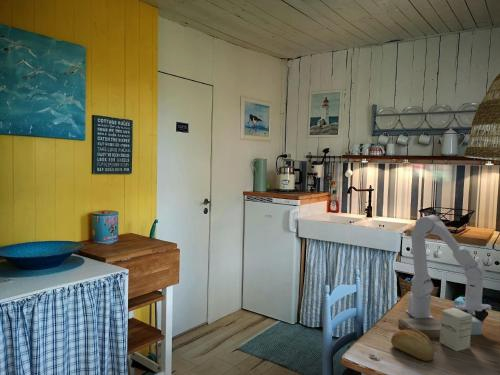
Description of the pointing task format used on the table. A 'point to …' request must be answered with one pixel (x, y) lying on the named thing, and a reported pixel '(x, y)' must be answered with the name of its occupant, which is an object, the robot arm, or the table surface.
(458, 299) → the light blue knobbed box
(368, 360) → the table surface
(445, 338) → the supplement box
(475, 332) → the dusty blue block
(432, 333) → the wooden tray
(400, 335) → the bread roll
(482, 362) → the table surface
